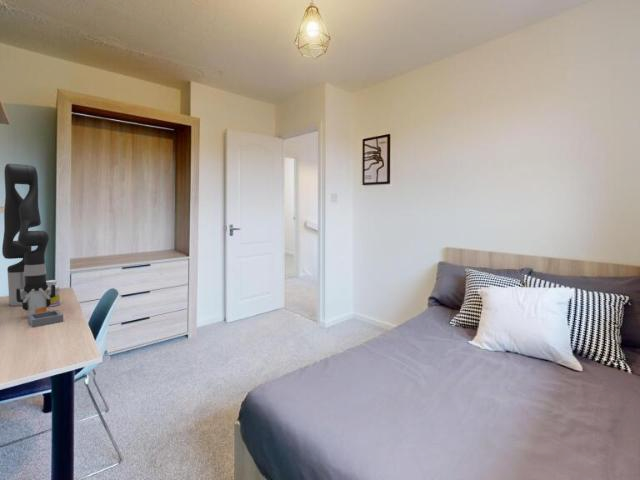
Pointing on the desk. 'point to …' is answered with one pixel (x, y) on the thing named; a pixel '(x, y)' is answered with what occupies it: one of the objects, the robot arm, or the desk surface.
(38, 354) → the desk surface
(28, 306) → the skincare box
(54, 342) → the desk surface
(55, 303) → the supplement bottle
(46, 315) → the frame
